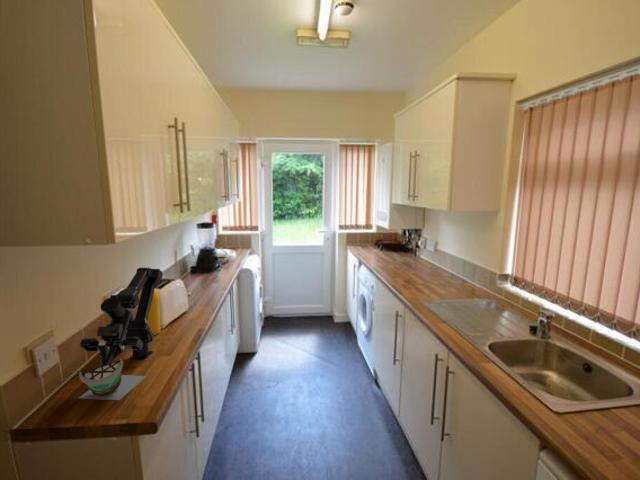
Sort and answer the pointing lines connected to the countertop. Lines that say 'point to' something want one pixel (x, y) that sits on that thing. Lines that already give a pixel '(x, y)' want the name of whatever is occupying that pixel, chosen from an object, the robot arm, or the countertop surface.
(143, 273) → the robot arm
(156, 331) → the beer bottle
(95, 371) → the food container
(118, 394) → the slate mat
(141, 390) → the countertop surface
